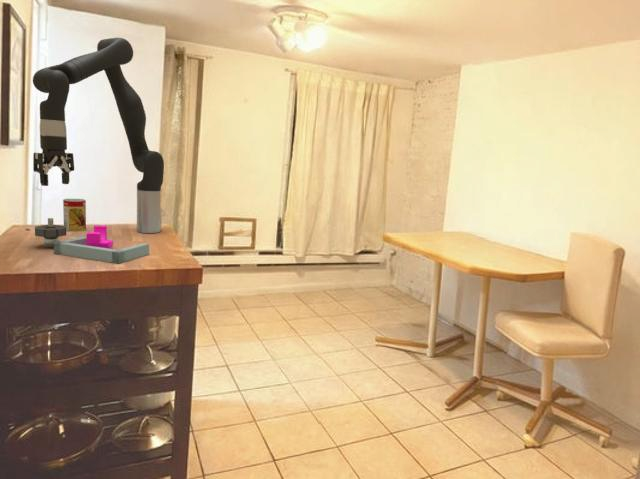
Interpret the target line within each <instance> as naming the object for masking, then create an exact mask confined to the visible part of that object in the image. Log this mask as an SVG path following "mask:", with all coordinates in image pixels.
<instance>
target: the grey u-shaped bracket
mask: <svg viewBox="0 0 640 479" xmlns="http://www.w3.org/2000/svg"><path fill="white" fill-rule="evenodd" d="M53 250H54V251H53V253H54V255H55V254H56V255H62V256H68V257H73V258H74V257H75V258H82V259H87V260H94V261H99V262H100V261H101V262H106V263H107V262H108V263H112V264H122V263H125V262H128V261H129V262H130V261H132V260H135V259H139V258H141V257H142V258H143V257H145V256H148V255H150V244H149V243H143V242H141V243H139V244H135V245H130V246H127V247H123V248H119V249H115V248H113V249H108V248H101V247H95V246H88V245H87V241H86V235H85V236H80V237H75V238H70V239H66V240H61V241H60V240H59V242H55V243H54V248H53Z"/></svg>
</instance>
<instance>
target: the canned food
mask: <svg viewBox="0 0 640 479" xmlns="http://www.w3.org/2000/svg"><path fill="white" fill-rule="evenodd" d="M62 204H63V205H62V206H63V226H66V232H82V231H83V230H84V231H86V230H87V224H86V223H87V212H86V211H87V210H86V209H87V204H86V199H85V198H83V199H82V198H64V199H63V200H62Z"/></svg>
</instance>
